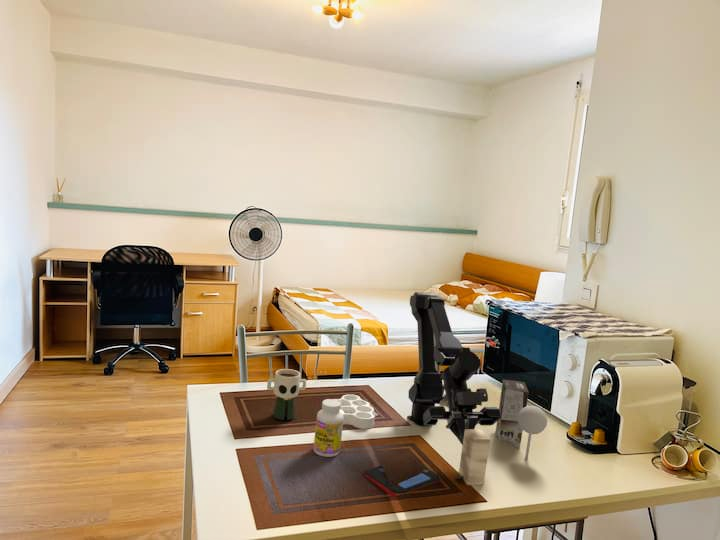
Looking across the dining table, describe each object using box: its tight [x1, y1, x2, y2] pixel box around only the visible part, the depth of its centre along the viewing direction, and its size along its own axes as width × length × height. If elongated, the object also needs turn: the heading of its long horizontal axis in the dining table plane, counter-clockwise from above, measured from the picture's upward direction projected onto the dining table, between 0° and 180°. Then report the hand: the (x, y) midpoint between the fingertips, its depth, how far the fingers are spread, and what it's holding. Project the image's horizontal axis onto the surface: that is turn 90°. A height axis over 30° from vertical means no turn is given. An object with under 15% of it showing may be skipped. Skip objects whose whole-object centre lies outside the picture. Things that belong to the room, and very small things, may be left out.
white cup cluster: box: [333, 393, 379, 430], centre depth 151 cm, size 3×18×15 cm
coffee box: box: [495, 379, 530, 448], centre depth 145 cm, size 9×6×16 cm
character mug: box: [266, 368, 307, 421], centre depth 144 cm, size 11×7×13 cm, turn 106°
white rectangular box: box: [454, 428, 491, 486], centre depth 118 cm, size 5×6×11 cm
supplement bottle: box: [313, 398, 344, 458], centre depth 127 cm, size 7×7×13 cm
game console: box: [362, 465, 441, 499], centre depth 119 cm, size 14×13×2 cm
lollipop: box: [518, 405, 548, 460], centre depth 133 cm, size 7×7×15 cm
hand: (469, 450), depth 121 cm, fingers closed, pressing on white rectangular box
